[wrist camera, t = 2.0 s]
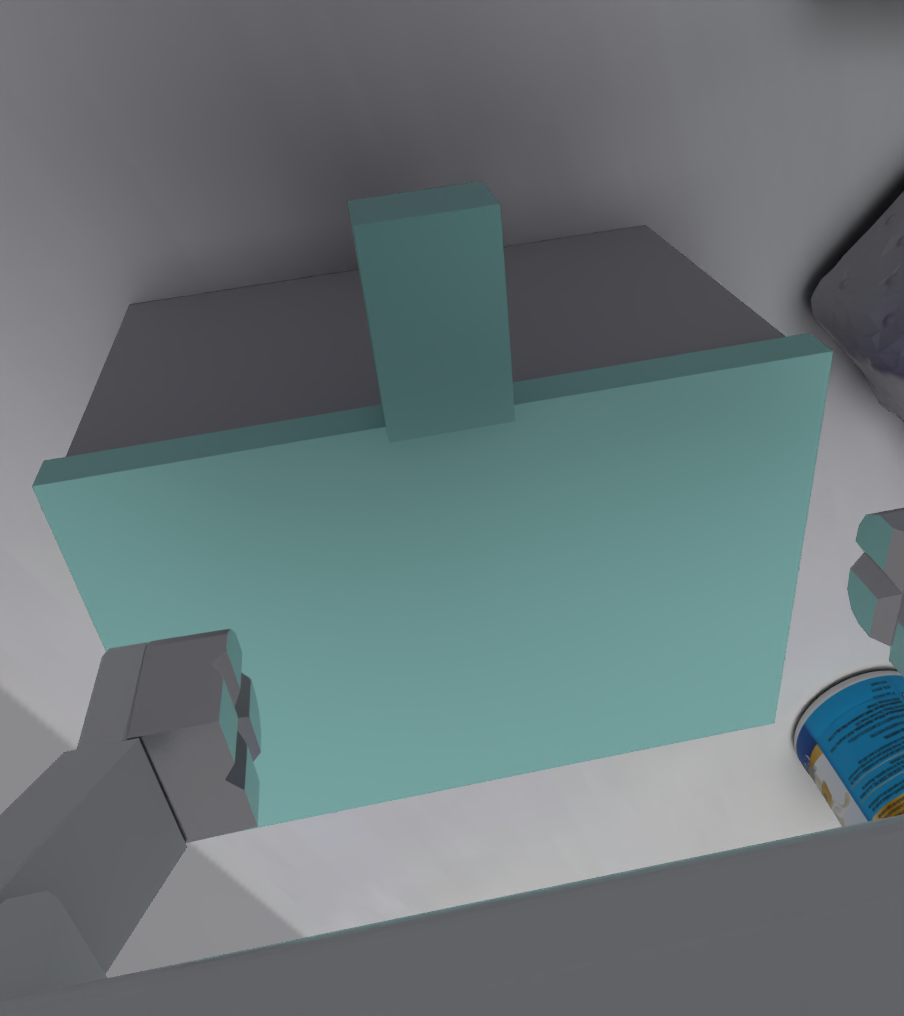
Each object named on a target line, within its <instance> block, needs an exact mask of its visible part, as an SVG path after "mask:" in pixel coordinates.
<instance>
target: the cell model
mask: <svg viewBox="0 0 904 1016" xmlns="http://www.w3.org/2000/svg"><path fill="white" fill-rule="evenodd" d="M811 305H812V311H813V316H814V317H815V319H816V320H817V322H818V324H819V325H820V326H821V327H822V328H823V329H824V330H825V331H826V332H827V333H828V334H829V335H830V337H831V338H832V339H833V340H834V341H835V342H836V343H837V344H838V345H839V347H840V348H841V349H842V350H843V351H844V352H845V353H846V354H847V355H848V356H849V357H850V358H851V359H852V360H853V361H854V362H855V364H856V365H857V366H858V367H859V368H860V369H861V371H862V372H863V373H864V374H865V376H866V378H867V380H868V382H869V384H870V386H871V388H872V390H873V392H874V394H875V396H876V398H877V399H878V401H879V403H880V404H881V405H882V406H883V407H885V408H886V409H887V410H888V411H890V412H893V413H896V414H897V415H898V416H899V417H900V418H901V419H902V420H903V421H904V191H903V192H902V193H901V194H900V196H899V197H898V198H897V199H896V200H895V201H894V202H893V204H892V205H891V206H890V207H889V208H888V209H887V210H886V211H885V213H884V214H883V215H882V216H881V217H880V218H879V219H878V220H877V221H876V223H875V224H874V225H873V226H872V227H871V228H870V229H869V230H868V231H867V232H866V233H865V234H864V235H863V236H862V237H861V238H860V239H859V240H858V241H857V242H856V243H855V244H854V245H853V246H852V247H851V248H850V249H849V251H848V252H847V253H846V254H845V255H844V256H843V257H842V258H841V259H840V261H839V262H838V263H837V264H836V266H835V267H834V268H833V269H832V270H831V271H830V272H829V273H828V274H826V275H825V276H824V277H823V278H822V279H821V281H820V282H819V284H818V286H817V287H816V289H815V291H814V292H813V295H812V298H811Z"/></svg>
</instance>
